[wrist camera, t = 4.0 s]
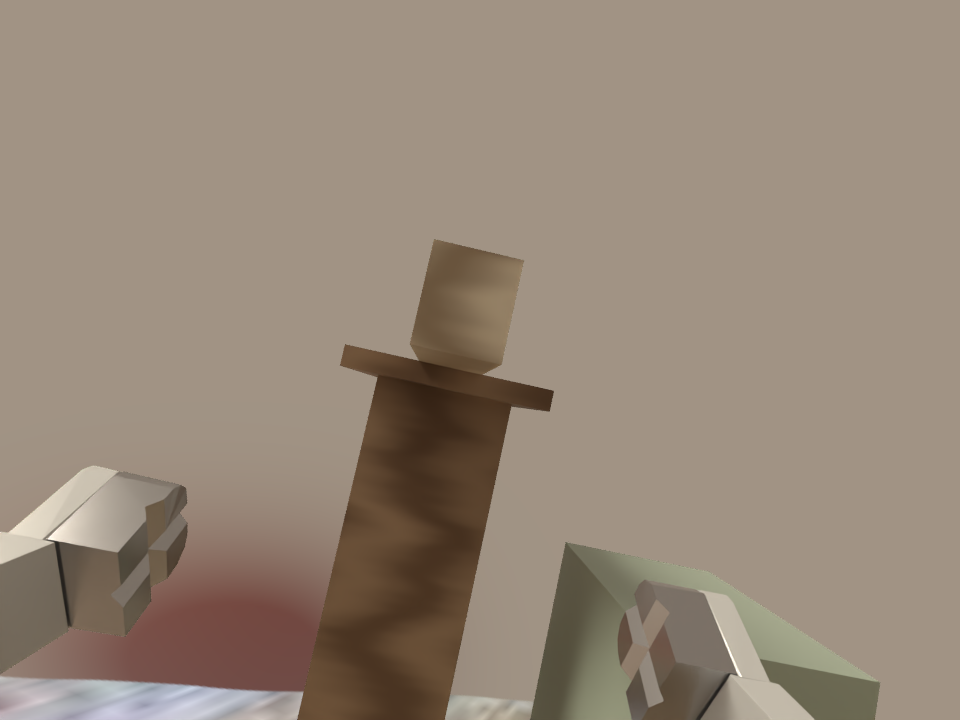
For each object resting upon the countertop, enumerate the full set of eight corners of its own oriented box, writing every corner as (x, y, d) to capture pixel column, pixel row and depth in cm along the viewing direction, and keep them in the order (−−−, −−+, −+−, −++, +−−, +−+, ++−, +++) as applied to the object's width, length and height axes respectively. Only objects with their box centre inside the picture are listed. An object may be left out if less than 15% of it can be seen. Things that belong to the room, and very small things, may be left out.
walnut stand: (200, 942, 23) (345, 344, 25) (291, 734, 37) (378, 363, 39) (432, 977, 23) (553, 390, 25) (435, 760, 37) (513, 393, 39)
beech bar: (409, 343, 17) (433, 239, 17) (425, 372, 37) (436, 323, 37) (501, 364, 17) (524, 260, 18) (468, 381, 37) (479, 332, 37)
